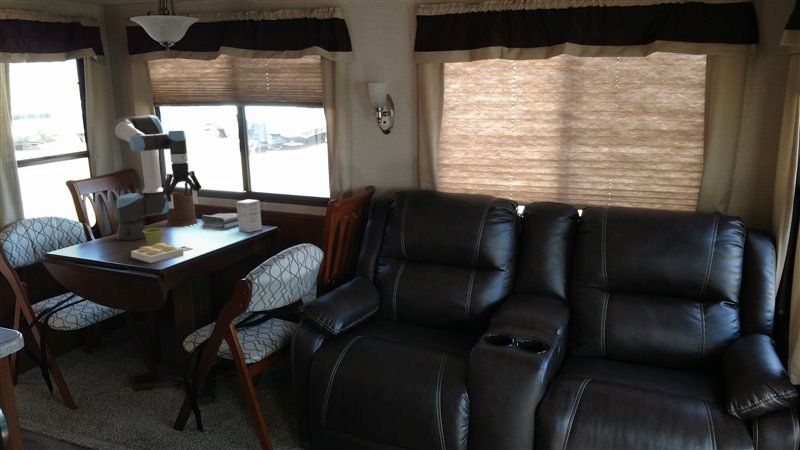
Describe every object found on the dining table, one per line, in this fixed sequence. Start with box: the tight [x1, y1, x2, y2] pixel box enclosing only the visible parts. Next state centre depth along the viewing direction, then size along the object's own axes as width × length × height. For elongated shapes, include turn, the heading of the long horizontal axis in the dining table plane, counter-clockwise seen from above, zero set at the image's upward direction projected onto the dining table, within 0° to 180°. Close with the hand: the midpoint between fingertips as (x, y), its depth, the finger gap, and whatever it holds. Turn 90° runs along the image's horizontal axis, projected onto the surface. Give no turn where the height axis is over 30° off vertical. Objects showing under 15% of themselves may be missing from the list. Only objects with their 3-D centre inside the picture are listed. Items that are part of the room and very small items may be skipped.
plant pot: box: [143, 227, 164, 247], centre depth 306 cm, size 9×9×9 cm
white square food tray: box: [130, 243, 184, 264], centre depth 289 cm, size 17×17×3 cm
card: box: [178, 246, 194, 252], centre depth 301 cm, size 7×7×1 cm
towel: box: [200, 212, 238, 230], centre depth 350 cm, size 15×18×8 cm
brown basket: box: [165, 178, 199, 228], centre depth 359 cm, size 18×24×25 cm
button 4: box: [163, 244, 175, 252], centre depth 289 cm, size 5×5×3 cm
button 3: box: [154, 242, 166, 249], centre depth 294 cm, size 5×5×3 cm
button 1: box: [139, 245, 151, 253], centre depth 288 cm, size 5×5×3 cm
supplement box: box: [236, 198, 263, 233], centre depth 339 cm, size 10×9×17 cm
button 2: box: [148, 248, 160, 255], centre depth 284 cm, size 5×5×3 cm
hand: (183, 206), depth 294 cm, fingers open, 13 cm apart
